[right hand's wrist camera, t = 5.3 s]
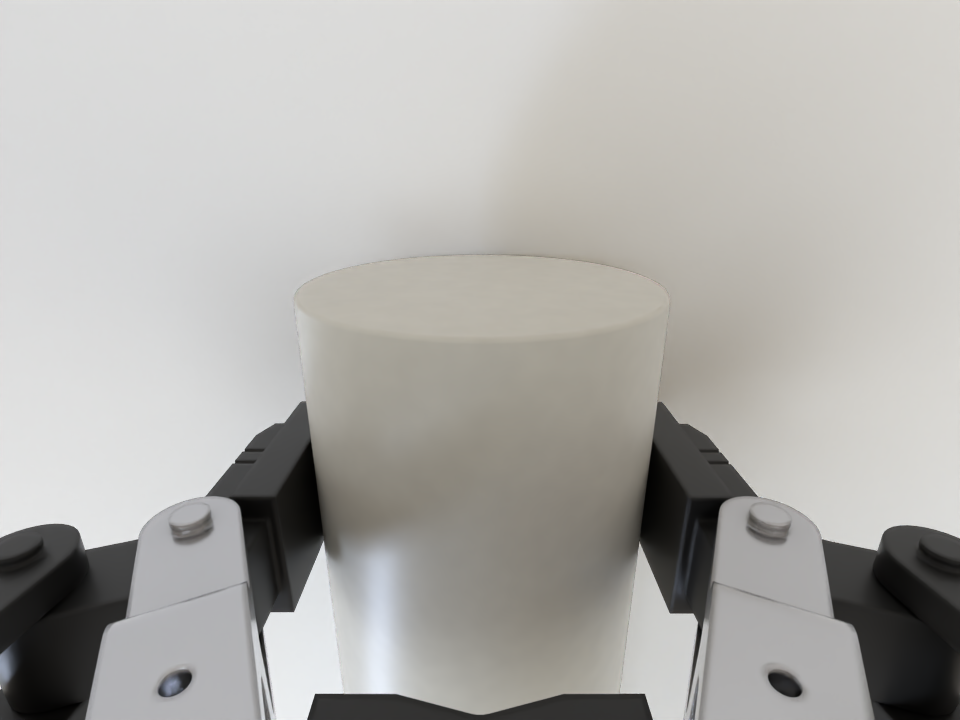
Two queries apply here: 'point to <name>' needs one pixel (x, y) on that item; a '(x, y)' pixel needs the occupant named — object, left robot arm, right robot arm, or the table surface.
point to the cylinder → (481, 470)
